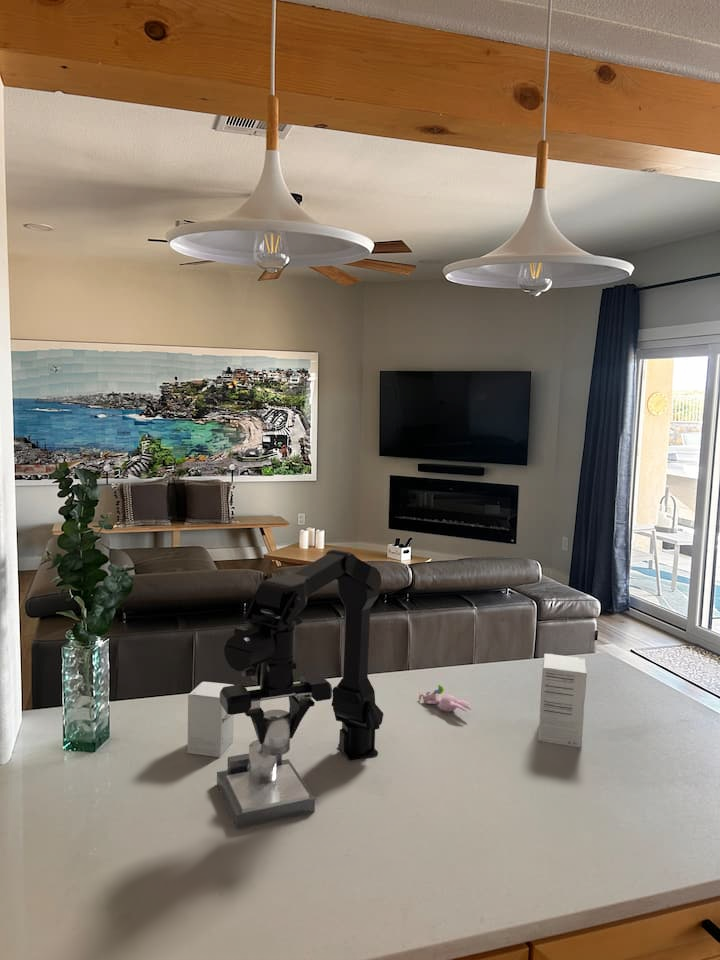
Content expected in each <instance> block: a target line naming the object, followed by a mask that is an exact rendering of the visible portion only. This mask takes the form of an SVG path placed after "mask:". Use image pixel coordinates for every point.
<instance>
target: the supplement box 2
mask: <svg viewBox="0 0 720 960" xmlns="http://www.w3.org/2000/svg"><path fill="white" fill-rule="evenodd" d="M542 661H543V662H542V670H541V671H542V672H541V673H542V674H541V687H540V688H541V690H540V701H539V702H540V705H539V706H540V707H539V723H538V724H539V725H538V742H544V743H550V744H555V745H562V746H570V747H575V748H582V746H583V732H584V731H583V730H584V717H585V713H584V712H585V700H586V688H587V677H588V672H587V666H586V664H587V662H586V661H587V659H586V658H584V657H576V656H569V655H568V656H567V655H561V654H555V653H543V660H542Z"/></svg>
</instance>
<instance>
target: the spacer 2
mask: <svg viewBox="0 0 720 960" xmlns="http://www.w3.org/2000/svg"><path fill="white" fill-rule="evenodd" d="M249 743H250V742H249ZM248 746H249V748H248V753H249V780H250V781H251V782H253V783H257V784H266V783H270V782H272V781H274V780H275V779H276V763H277V756H271V755H267V754H264V753H263V752H262V751H261V744H260V743H259V741H258V739H256V740H254V741H252V742H251V743H250V744H249V745H248Z"/></svg>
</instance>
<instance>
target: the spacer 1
mask: <svg viewBox="0 0 720 960" xmlns="http://www.w3.org/2000/svg"><path fill="white" fill-rule="evenodd" d="M290 722H291V715H290V713H289V711H288V710H284V709H270V710H266V711H264V739H263V744H261V751H262V752H263V753H264V754H267V755H271V756H278V755H282V756H283V755H286V754H287V753H289V751H291V739H290Z"/></svg>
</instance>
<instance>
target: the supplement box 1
mask: <svg viewBox="0 0 720 960" xmlns="http://www.w3.org/2000/svg"><path fill="white" fill-rule="evenodd" d="M234 685H235V684H231V683H230V684H229V683H222V682H212V681H202V682H200V683H199V684H198V685H197V686H196V687H195V688H194V689H193V690H192V691H191V692H189V694H188V695H187V698H188V699H187V750H186V751H187V754H193V755H201V756H205V757H214V758H221V756H222V755H223V754H224V752H225V751H226V749H228V747H229V746H230V745H231V744H232V742H233V741H234V715H235V714H234V715H230V714H227V713H226V711H225V710H224V708H223V706H222V705H221V703H220V691H221V690H222V688H223V687H226V686H234Z"/></svg>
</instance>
